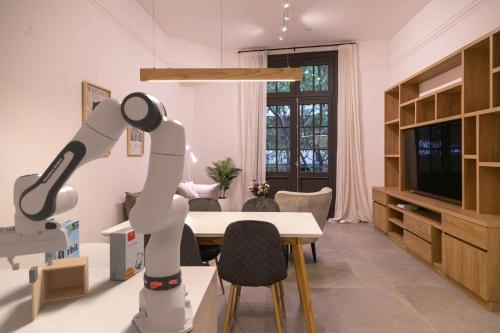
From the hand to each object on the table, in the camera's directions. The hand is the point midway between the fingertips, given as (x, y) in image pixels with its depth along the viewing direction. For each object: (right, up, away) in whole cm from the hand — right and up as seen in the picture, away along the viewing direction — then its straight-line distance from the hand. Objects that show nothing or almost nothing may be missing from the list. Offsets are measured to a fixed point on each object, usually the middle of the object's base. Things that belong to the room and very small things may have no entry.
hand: (33, 267), depth 104 cm
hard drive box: (+15, -16, +40) cm, 45 cm away
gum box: (-12, -16, +37) cm, 42 cm away
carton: (0, -16, +19) cm, 25 cm away
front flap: (-2, -16, +5) cm, 17 cm away
